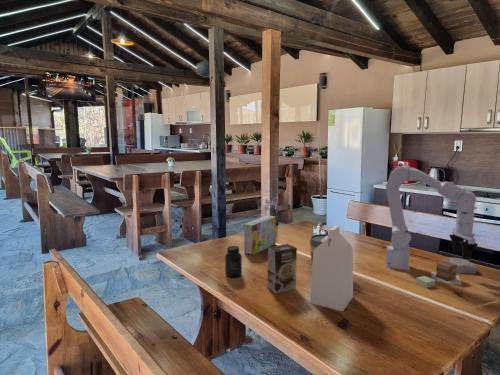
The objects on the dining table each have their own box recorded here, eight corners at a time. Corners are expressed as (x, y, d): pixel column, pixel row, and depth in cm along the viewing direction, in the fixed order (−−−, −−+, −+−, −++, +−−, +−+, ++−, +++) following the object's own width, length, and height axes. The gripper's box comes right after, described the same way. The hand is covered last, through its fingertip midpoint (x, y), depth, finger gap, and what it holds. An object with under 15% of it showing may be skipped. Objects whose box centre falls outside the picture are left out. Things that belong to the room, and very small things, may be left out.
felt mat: (432, 281, 137) (432, 280, 137) (430, 272, 146) (430, 271, 146) (462, 286, 133) (462, 284, 133) (458, 276, 142) (458, 275, 142)
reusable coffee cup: (345, 272, 146) (346, 238, 144) (329, 281, 137) (331, 245, 135) (319, 264, 155) (320, 232, 153) (303, 273, 146) (304, 238, 144)
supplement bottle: (244, 273, 145) (244, 246, 143) (237, 280, 139) (236, 251, 137) (230, 271, 148) (229, 244, 146) (222, 277, 142) (221, 248, 140)
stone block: (452, 278, 145) (478, 275, 143) (450, 267, 145) (477, 264, 143) (442, 268, 157) (467, 265, 155) (441, 258, 156) (465, 255, 154)
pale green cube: (425, 289, 131) (426, 282, 130) (415, 285, 135) (416, 277, 134) (434, 287, 132) (435, 280, 132) (424, 283, 136) (425, 275, 136)
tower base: (446, 281, 136) (447, 274, 136) (435, 276, 141) (436, 269, 140) (456, 279, 138) (456, 272, 138) (444, 274, 143) (445, 267, 142)
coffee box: (275, 294, 127) (276, 251, 124) (267, 287, 132) (267, 246, 130) (296, 289, 131) (297, 247, 128) (287, 282, 137) (287, 243, 134)
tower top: (447, 274, 136) (448, 266, 135) (436, 269, 140) (437, 262, 140) (456, 272, 138) (457, 264, 137) (445, 267, 142) (445, 260, 142)
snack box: (267, 242, 187) (267, 215, 185) (276, 244, 184) (276, 216, 182) (243, 253, 170) (243, 223, 168) (252, 255, 167) (252, 225, 165)
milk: (342, 311, 114) (345, 234, 111) (309, 302, 121) (311, 229, 117) (353, 297, 125) (356, 226, 121) (322, 289, 131) (324, 221, 127)
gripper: (485, 227, 128) (481, 263, 130) (466, 218, 142) (463, 250, 144) (464, 227, 129) (461, 262, 131) (448, 217, 143) (445, 249, 145)
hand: (461, 256), depth 138 cm, fingers open, 7 cm apart
